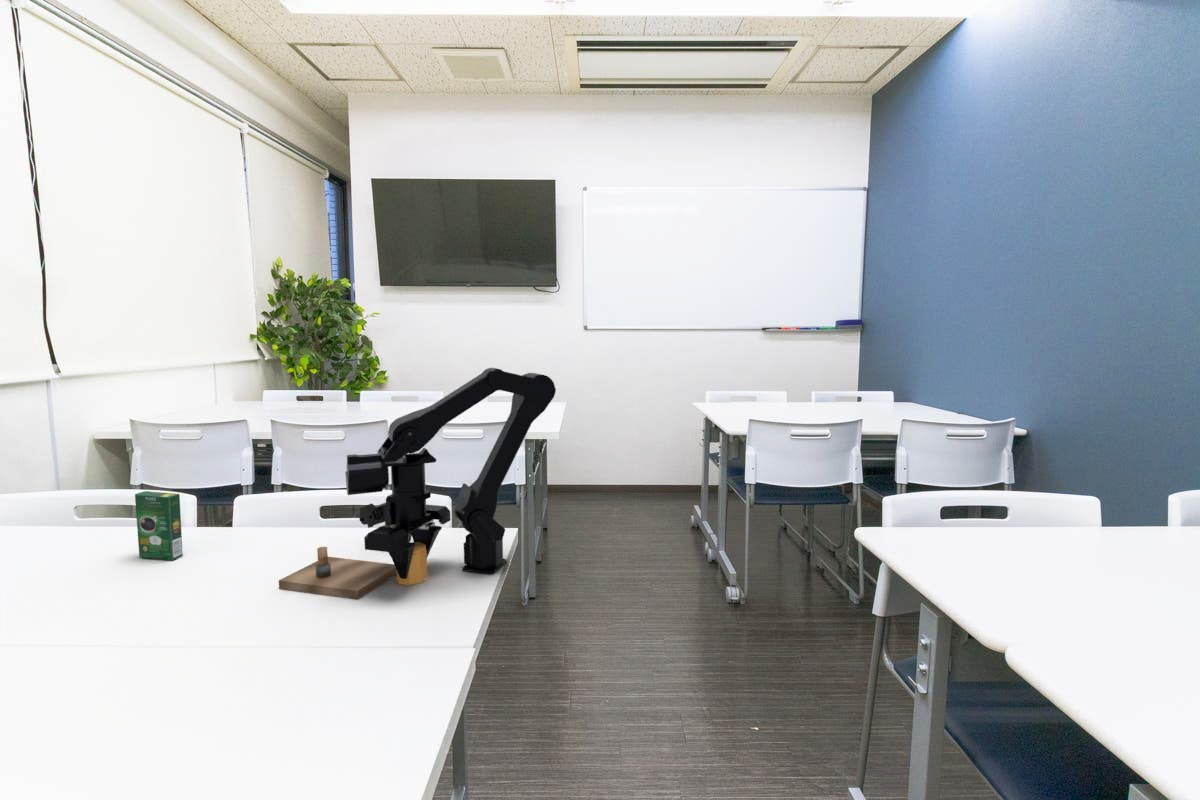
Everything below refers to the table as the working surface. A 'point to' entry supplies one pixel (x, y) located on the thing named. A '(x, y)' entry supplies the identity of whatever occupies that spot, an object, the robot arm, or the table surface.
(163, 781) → the table surface
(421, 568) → the orange wooden cylinder
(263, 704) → the table surface
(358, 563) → the wooden board with peg
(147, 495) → the coffee box
